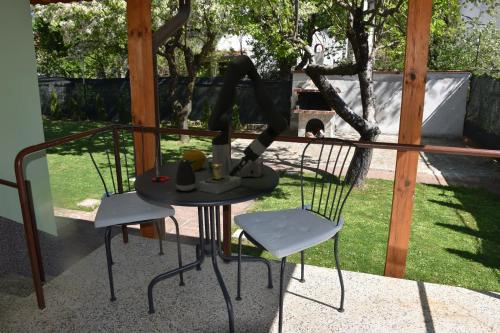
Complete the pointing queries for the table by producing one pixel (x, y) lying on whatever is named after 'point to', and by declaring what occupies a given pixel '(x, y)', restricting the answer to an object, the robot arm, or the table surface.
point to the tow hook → (157, 178)
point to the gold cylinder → (217, 171)
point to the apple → (195, 158)
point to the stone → (252, 169)
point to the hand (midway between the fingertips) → (232, 173)
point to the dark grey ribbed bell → (185, 175)
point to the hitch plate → (219, 184)
